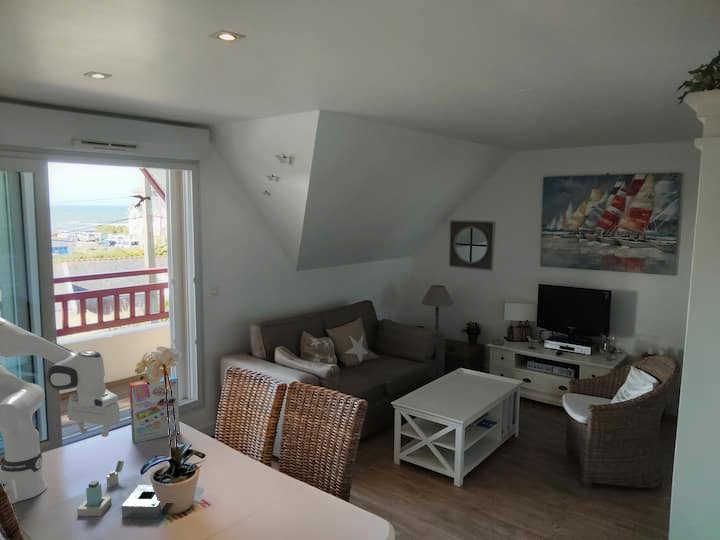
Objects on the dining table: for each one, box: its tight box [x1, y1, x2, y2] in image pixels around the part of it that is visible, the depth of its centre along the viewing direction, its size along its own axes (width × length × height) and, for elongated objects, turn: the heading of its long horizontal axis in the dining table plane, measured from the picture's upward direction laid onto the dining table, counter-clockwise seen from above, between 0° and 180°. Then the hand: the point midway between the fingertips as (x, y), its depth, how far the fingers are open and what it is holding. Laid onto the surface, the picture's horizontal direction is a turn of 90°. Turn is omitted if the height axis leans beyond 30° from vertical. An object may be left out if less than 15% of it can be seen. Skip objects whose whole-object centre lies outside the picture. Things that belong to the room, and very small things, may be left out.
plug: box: [85, 480, 103, 507], centre depth 186 cm, size 4×4×10 cm
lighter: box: [106, 460, 125, 489], centre depth 204 cm, size 7×2×8 cm, turn 156°
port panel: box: [121, 484, 162, 520], centre depth 188 cm, size 12×14×5 cm
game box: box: [128, 375, 181, 444], centre depth 245 cm, size 21×6×27 cm, turn 123°
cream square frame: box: [76, 496, 112, 517], centre depth 187 cm, size 8×8×2 cm
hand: (94, 434), depth 186 cm, fingers open, 8 cm apart
